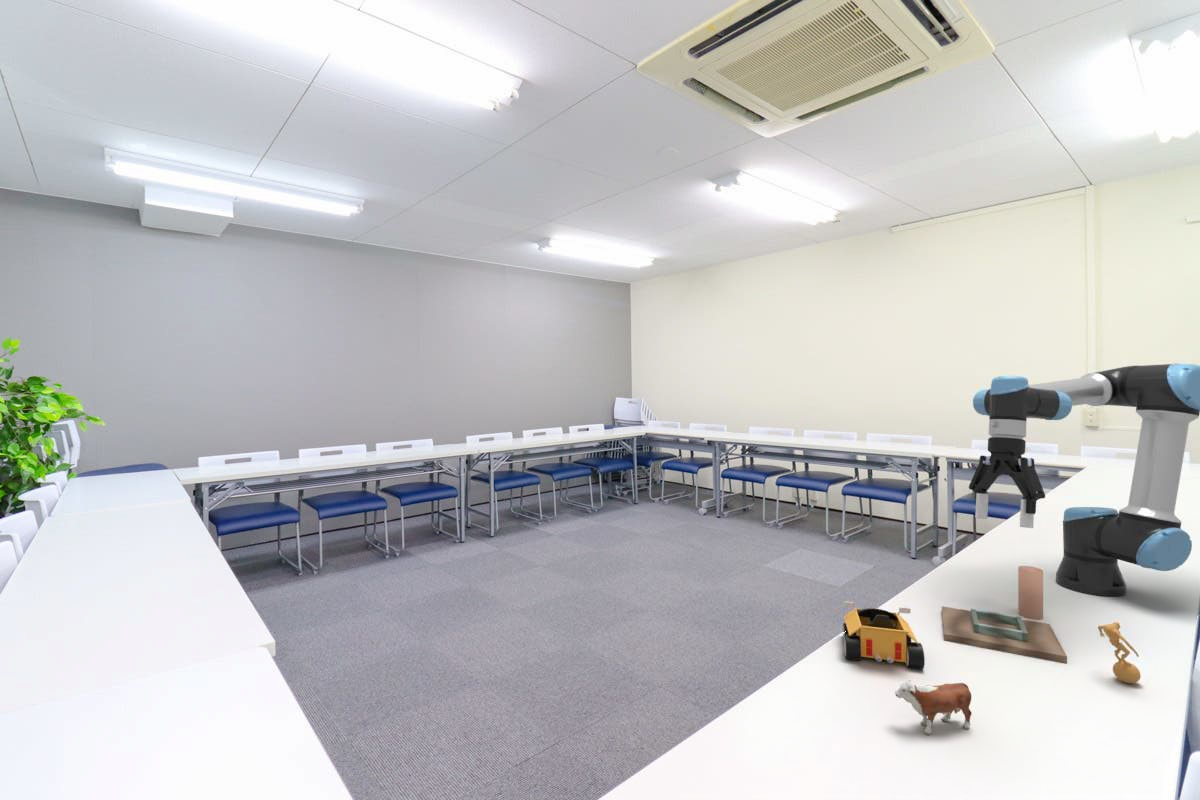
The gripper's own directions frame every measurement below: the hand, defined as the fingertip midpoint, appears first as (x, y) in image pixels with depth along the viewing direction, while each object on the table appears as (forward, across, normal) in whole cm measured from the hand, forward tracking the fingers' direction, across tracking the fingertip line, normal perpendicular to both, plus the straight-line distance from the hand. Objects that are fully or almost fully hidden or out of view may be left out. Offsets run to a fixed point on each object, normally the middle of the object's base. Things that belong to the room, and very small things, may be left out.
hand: (1002, 523), depth 133 cm
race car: (+31, +8, -35) cm, 48 cm away
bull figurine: (+34, +34, -40) cm, 63 cm away
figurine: (+27, +25, +5) cm, 37 cm away
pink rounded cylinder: (+23, -6, +14) cm, 27 cm away
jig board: (+26, +3, -3) cm, 26 cm away
